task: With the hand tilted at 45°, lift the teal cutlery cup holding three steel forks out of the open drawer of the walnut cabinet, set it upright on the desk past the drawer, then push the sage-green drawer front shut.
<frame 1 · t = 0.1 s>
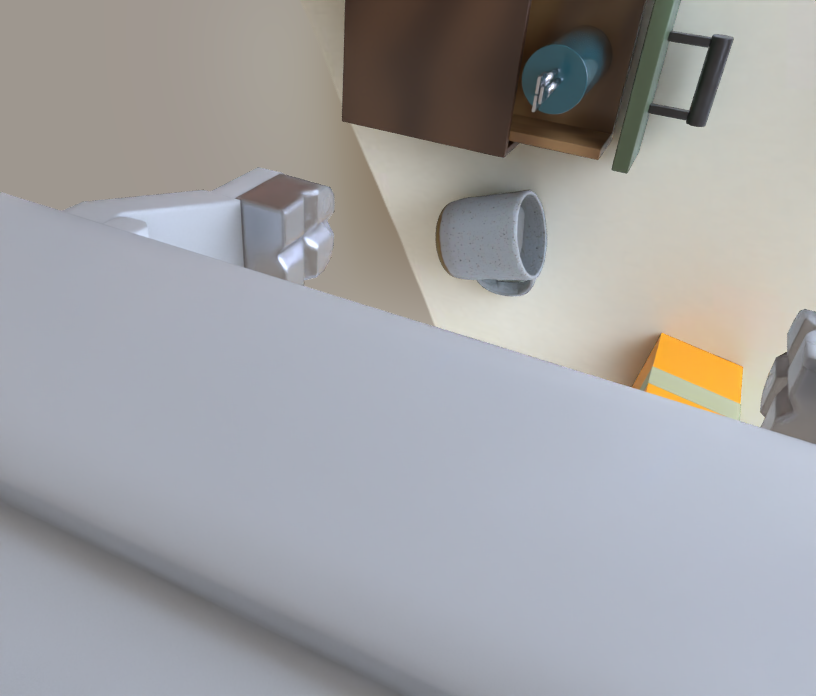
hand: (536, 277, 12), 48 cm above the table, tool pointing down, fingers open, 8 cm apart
cabinet: (462, 30, 57), on the table
drawer: (594, 63, 51), point 4 cm above the table, slide at 8.0 cm, touching cutlery cup
cutlery cup: (582, 56, 53), point 2 cm above the table, touching drawer
orange juice: (680, 383, 66), on the table
ceramic mug: (510, 235, 65), on the table
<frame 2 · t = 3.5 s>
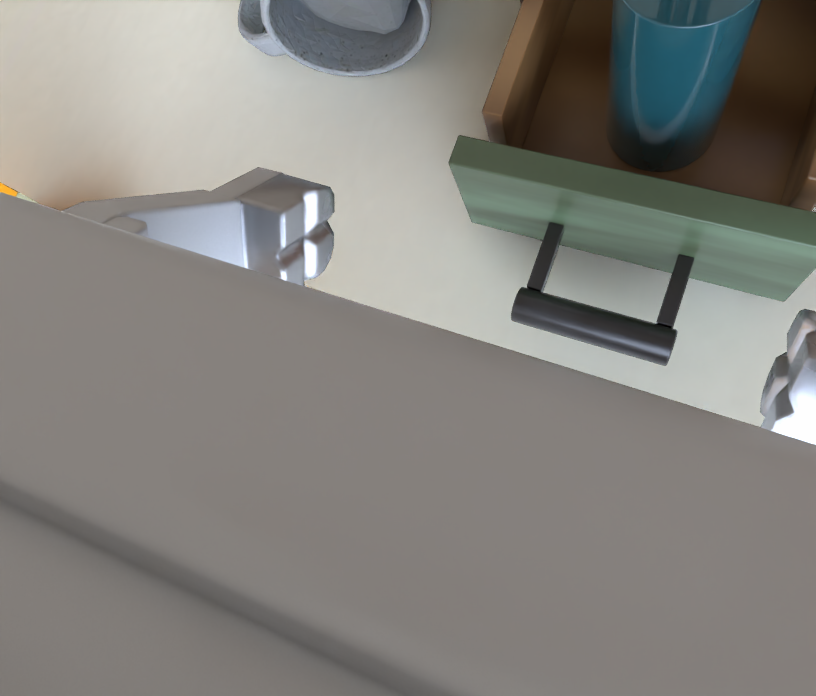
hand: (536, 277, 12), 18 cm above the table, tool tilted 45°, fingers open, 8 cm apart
drawer: (656, 127, 27), point 4 cm above the table, slide at 8.0 cm, touching cutlery cup
cutlery cup: (660, 123, 29), point 2 cm above the table, touching drawer
orange juice: (53, 295, 37), on the table
ceramic mug: (349, 20, 36), on the table
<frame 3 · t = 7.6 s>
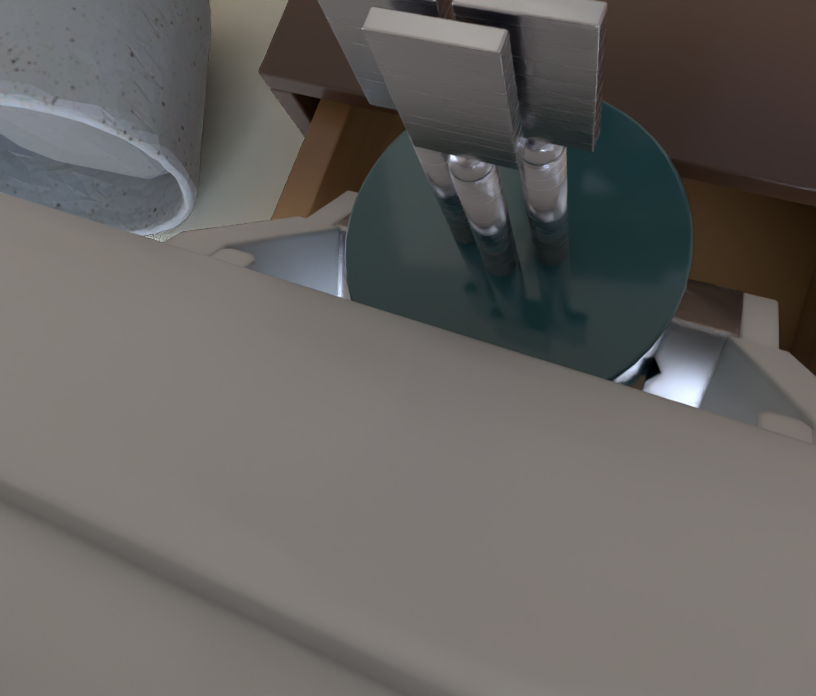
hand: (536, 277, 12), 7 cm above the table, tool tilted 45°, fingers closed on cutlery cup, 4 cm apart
cabinet: (658, 51, 21), on the table
drawer: (519, 410, 15), point 4 cm above the table, slide at 8.0 cm, touching cutlery cup
cutlery cup: (542, 374, 17), point 2 cm above the table, touching drawer, gripper
ceramic mug: (117, 145, 25), on the table
when the fingers open (5 cm above the table, at t = 17.8 s): cutlery cup stays where it is, on the table.
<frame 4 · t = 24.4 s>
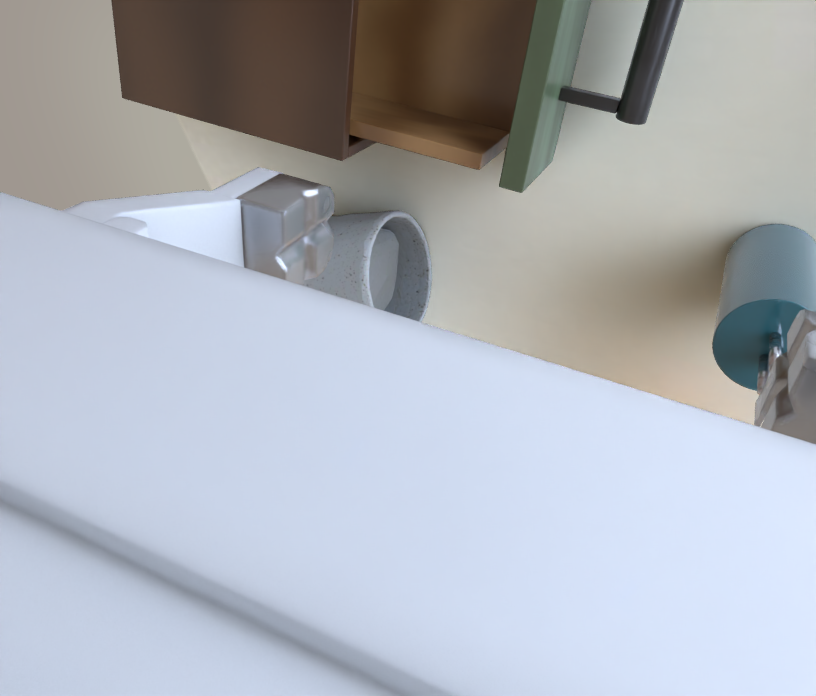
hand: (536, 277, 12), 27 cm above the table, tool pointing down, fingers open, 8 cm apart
drawer: (476, 19, 33), point 4 cm above the table, slide at 8.0 cm
cutlery cup: (772, 264, 36), on the table
ceramic mug: (385, 271, 46), on the table
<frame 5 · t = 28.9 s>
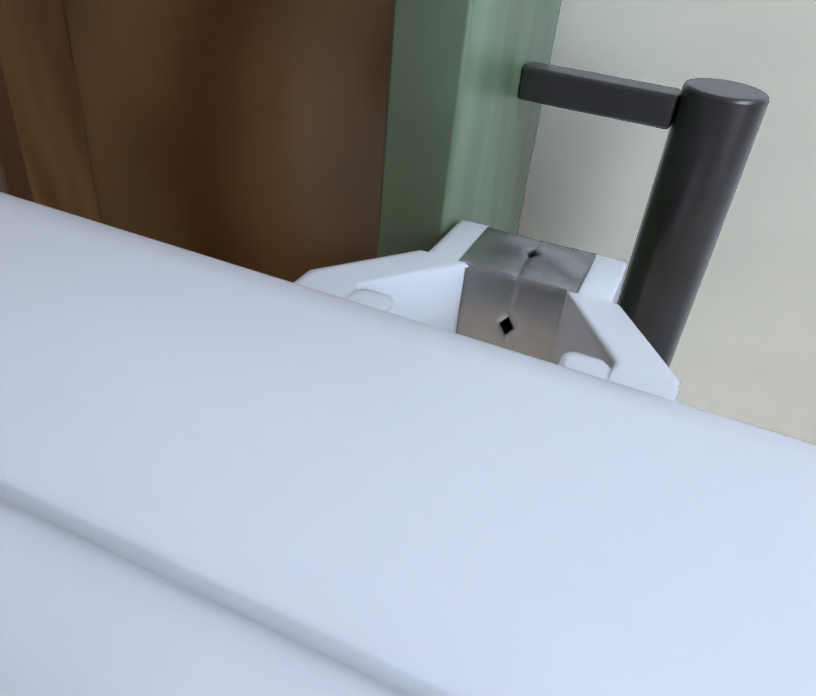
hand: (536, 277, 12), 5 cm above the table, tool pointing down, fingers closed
cabinet: (29, 45, 21), on the table
drawer: (294, 165, 15), point 4 cm above the table, slide at 7.9 cm, touching gripper
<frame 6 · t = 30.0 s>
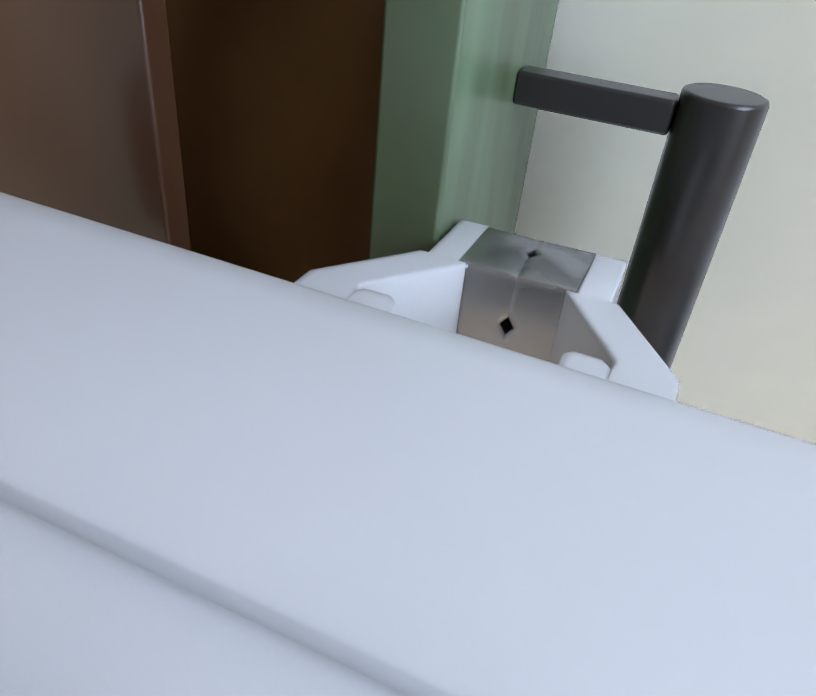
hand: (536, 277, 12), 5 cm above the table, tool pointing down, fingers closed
cabinet: (135, 74, 20), on the table
drawer: (286, 170, 15), point 4 cm above the table, slide at 3.5 cm, touching gripper
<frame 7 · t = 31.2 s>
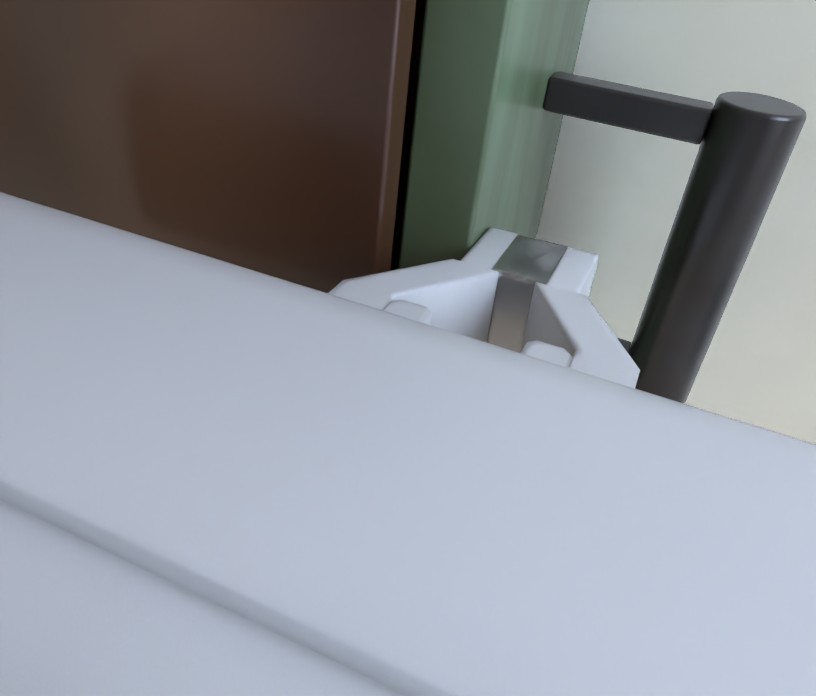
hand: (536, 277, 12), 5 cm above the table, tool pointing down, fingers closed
cabinet: (256, 99, 19), on the table
drawer: (308, 174, 15), point 4 cm above the table, slide at 0.0 cm, touching cabinet, gripper
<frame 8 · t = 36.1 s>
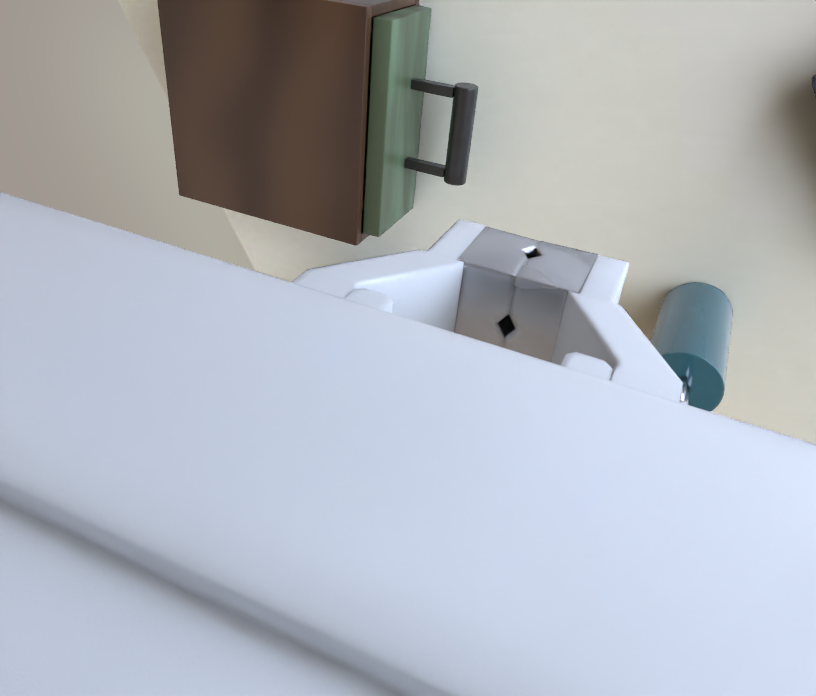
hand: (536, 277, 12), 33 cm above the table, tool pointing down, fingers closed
cabinet: (318, 89, 49), on the table
drawer: (340, 112, 45), point 4 cm above the table, slide at 0.0 cm, touching cabinet
cutlery cup: (695, 312, 46), on the table
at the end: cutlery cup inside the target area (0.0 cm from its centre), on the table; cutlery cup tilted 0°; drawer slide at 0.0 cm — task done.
